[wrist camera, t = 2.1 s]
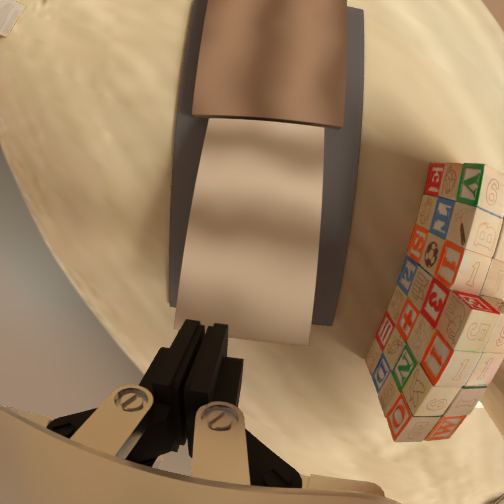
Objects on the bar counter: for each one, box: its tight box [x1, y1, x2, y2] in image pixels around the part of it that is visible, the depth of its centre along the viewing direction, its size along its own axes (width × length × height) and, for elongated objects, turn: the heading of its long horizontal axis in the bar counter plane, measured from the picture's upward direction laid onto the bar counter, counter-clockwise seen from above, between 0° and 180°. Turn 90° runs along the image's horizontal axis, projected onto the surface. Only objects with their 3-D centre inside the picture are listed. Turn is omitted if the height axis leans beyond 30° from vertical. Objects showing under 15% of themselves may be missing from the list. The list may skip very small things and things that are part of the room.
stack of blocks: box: [365, 163, 504, 442], centre depth 21 cm, size 21×6×12 cm, turn 169°
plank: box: [174, 118, 324, 346], centre depth 22 cm, size 16×9×2 cm, turn 176°
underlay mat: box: [169, 0, 364, 326], centre depth 25 cm, size 16×31×1 cm, turn 175°
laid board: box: [192, 0, 347, 130], centre depth 21 cm, size 12×13×2 cm
